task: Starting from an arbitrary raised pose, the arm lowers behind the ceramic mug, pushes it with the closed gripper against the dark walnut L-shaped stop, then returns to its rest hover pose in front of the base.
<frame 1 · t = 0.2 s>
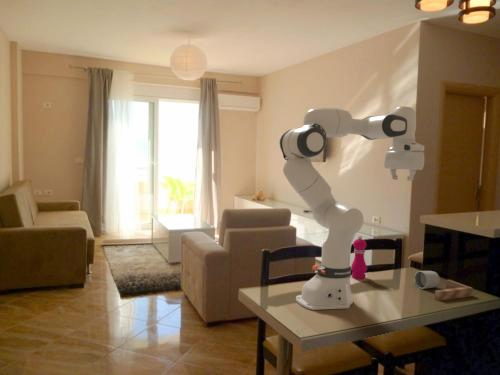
hand: (402, 180, 170), 48 cm above the table, fingers open, 8 cm apart
ceramic mug: (424, 287, 182), on the table
walnut stop: (453, 297, 168), on the table
pepper mill: (358, 277, 195), on the table
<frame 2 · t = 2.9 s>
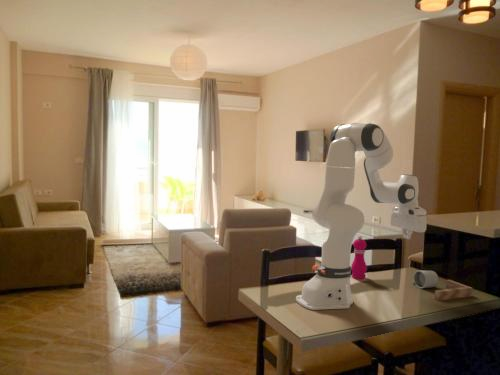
hand: (407, 238, 192), 19 cm above the table, fingers closed
nothing on the table moved.
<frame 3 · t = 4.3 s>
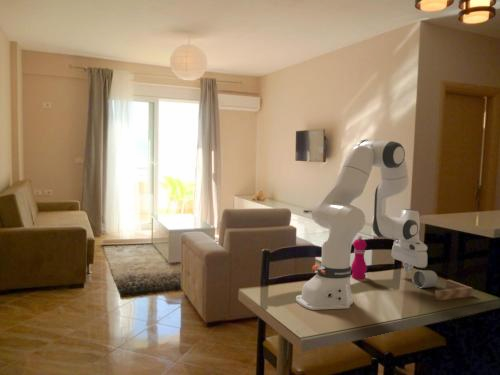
hand: (407, 272, 192), 3 cm above the table, fingers closed
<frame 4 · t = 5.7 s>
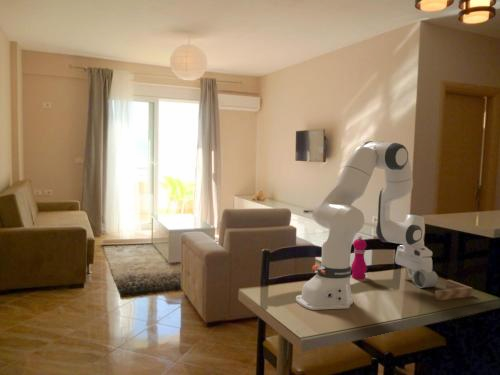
hand: (411, 278, 189), 2 cm above the table, fingers closed
ceramic mug: (423, 286, 183), on the table, touching gripper
everything else where it was.
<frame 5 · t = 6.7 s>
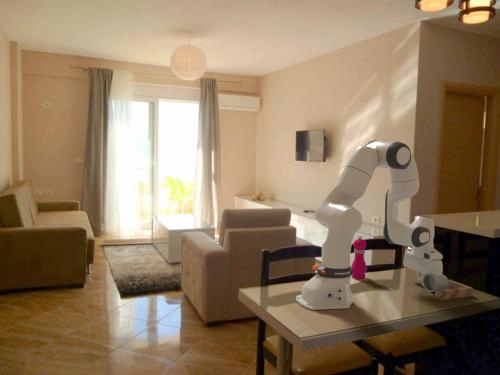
hand: (421, 281, 184), 2 cm above the table, fingers closed
ceramic mug: (432, 290, 178), on the table, touching gripper
everything else where it was.
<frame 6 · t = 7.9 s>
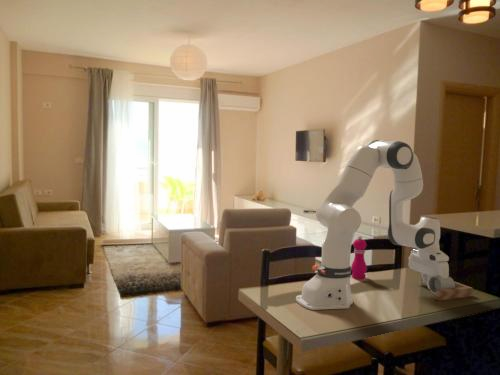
hand: (426, 284, 181), 2 cm above the table, fingers closed
ceramic mug: (438, 292, 174), on the table, touching gripper
everything else where it was.
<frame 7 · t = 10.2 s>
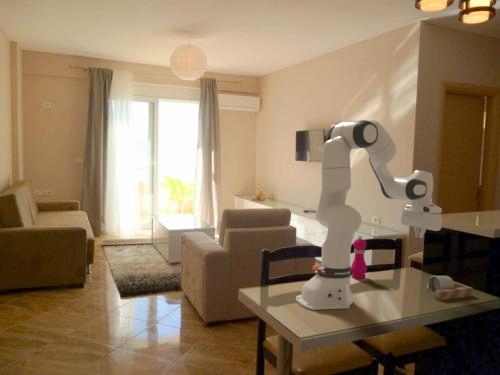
hand: (419, 237, 183), 22 cm above the table, fingers closed
ceramic mug: (438, 292, 175), on the table
everything else where it was.
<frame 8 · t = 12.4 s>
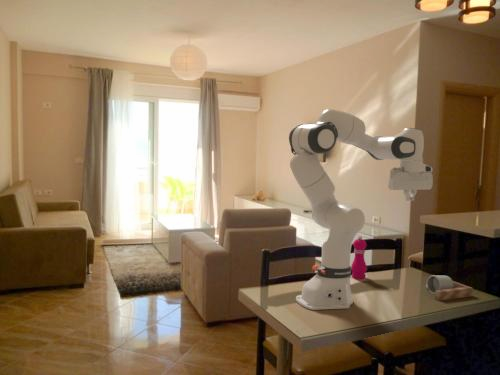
hand: (409, 200, 172), 39 cm above the table, fingers closed
nothing on the table moved.
at the end: ceramic mug inside the target area (1.1 cm from its centre), on the table; ceramic mug tilted 0° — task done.
